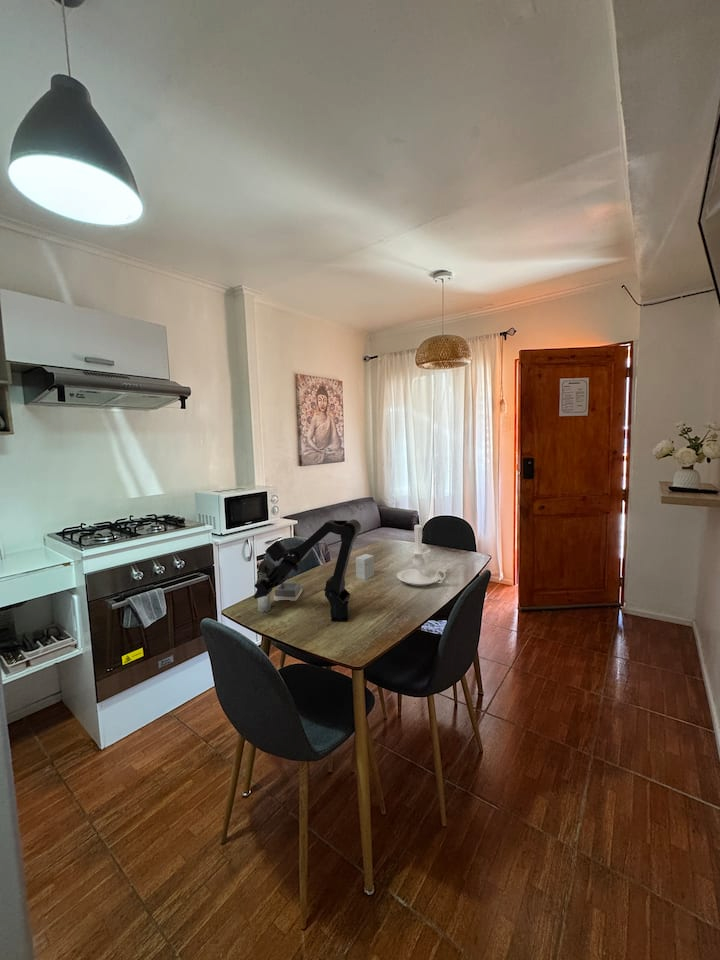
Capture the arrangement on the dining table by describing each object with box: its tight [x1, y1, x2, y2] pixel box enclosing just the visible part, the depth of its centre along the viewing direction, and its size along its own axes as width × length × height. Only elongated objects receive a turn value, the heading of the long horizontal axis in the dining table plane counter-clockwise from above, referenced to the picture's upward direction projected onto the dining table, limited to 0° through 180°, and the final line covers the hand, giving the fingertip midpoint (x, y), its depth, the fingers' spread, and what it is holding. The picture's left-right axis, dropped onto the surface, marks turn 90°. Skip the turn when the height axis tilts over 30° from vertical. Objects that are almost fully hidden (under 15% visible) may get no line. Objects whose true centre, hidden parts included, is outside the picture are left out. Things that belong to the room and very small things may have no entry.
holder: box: [273, 581, 303, 602], centre depth 179 cm, size 10×10×4 cm
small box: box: [355, 553, 375, 581], centre depth 199 cm, size 8×6×10 cm
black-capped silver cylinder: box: [255, 577, 272, 613], centre depth 165 cm, size 5×5×12 cm
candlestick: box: [396, 524, 448, 587], centre depth 188 cm, size 21×25×28 cm
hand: (260, 593), depth 166 cm, fingers open, 9 cm apart
